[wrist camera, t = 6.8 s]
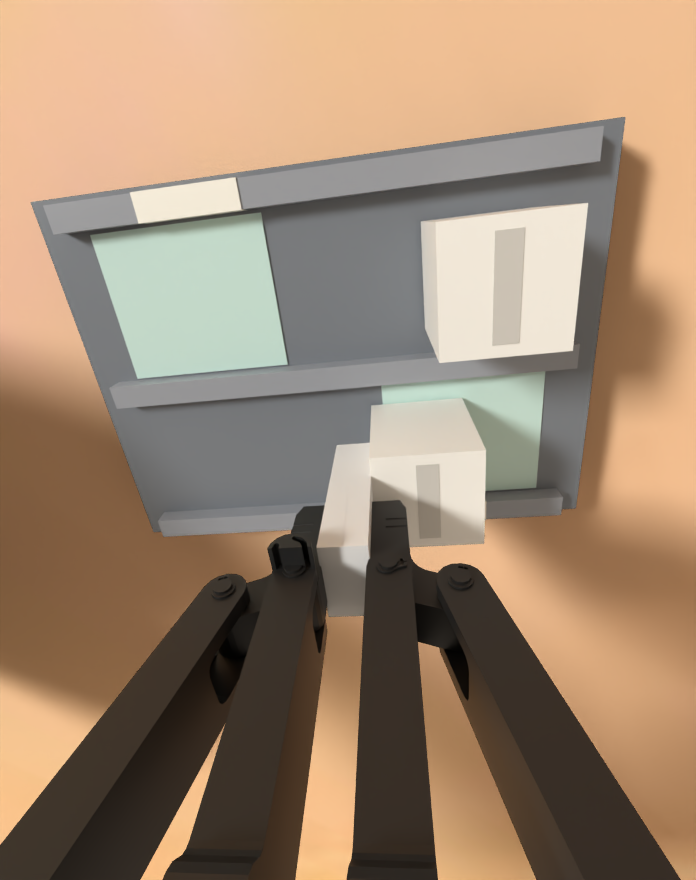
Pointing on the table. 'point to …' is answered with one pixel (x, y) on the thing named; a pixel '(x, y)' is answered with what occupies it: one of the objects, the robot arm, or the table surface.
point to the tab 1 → (430, 469)
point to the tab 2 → (503, 282)
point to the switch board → (320, 322)
